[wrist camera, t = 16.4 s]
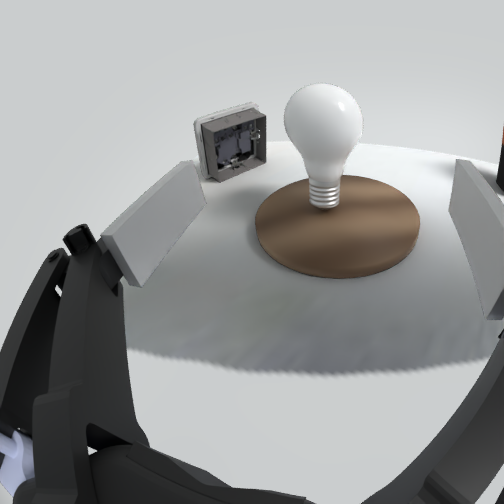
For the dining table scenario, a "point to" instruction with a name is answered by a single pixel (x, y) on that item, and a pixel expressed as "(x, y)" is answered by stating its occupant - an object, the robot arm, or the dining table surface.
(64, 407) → the robot arm
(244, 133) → the electrical switch
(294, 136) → the lightbulb
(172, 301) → the dining table surface
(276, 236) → the board
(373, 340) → the dining table surface
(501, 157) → the battery
